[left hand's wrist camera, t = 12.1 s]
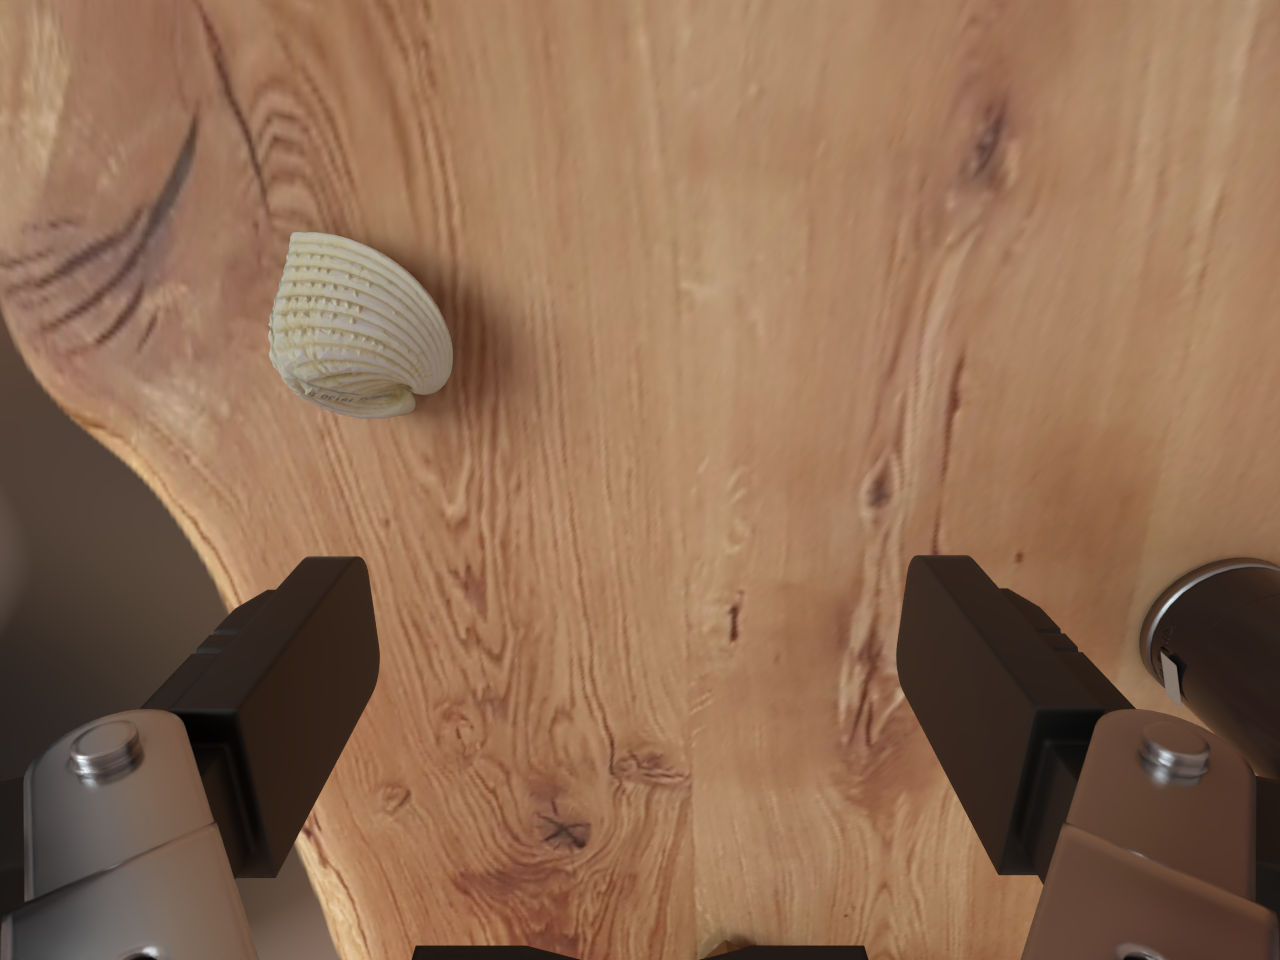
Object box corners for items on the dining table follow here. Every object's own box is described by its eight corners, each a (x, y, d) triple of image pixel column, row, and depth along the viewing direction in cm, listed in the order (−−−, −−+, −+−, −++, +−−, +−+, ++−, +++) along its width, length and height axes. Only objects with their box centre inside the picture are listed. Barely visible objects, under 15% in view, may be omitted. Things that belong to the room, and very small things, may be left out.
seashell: (374, 470, 40) (216, 406, 34) (392, 344, 44) (254, 270, 39) (473, 404, 35) (309, 319, 30) (482, 271, 39) (340, 176, 34)
